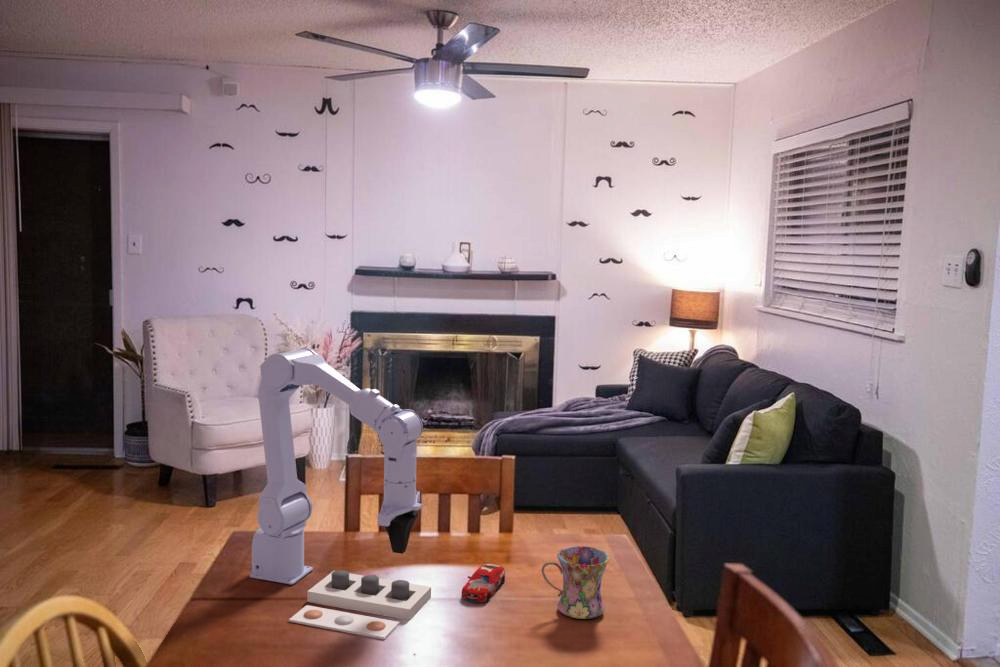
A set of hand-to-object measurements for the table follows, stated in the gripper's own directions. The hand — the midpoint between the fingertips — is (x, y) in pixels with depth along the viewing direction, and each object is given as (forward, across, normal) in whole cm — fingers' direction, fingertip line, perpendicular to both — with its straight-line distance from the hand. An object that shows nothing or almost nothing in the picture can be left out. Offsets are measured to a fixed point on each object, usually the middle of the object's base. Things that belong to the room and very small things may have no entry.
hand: (399, 551), depth 160 cm
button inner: (+8, -1, +11) cm, 14 cm away
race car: (+10, +11, -13) cm, 20 cm away
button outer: (+8, -1, -1) cm, 8 cm away
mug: (+10, +8, -31) cm, 33 cm away
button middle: (+8, -1, +5) cm, 10 cm away
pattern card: (+10, -11, +5) cm, 15 cm away
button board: (+10, -1, +5) cm, 11 cm away
